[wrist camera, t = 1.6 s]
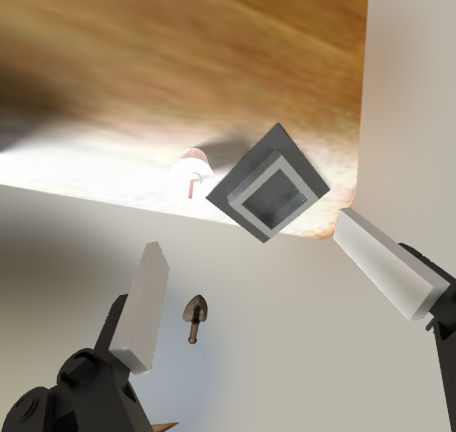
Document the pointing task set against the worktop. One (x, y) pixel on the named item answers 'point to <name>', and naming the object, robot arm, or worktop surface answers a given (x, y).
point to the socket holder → (268, 186)
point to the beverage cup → (192, 175)
